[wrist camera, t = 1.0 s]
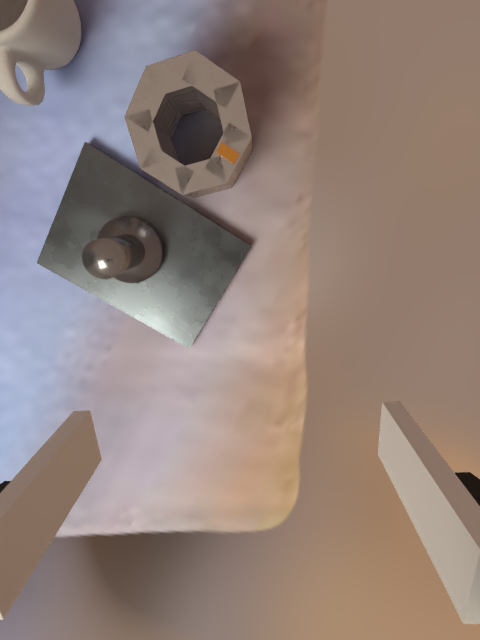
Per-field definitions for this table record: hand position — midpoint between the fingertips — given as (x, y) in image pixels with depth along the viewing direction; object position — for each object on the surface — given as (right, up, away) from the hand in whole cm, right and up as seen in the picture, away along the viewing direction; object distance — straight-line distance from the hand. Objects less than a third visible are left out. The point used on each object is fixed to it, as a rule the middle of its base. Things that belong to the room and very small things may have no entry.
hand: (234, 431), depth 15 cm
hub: (-3, +22, +16) cm, 27 cm away
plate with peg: (-10, +12, +19) cm, 25 cm away
